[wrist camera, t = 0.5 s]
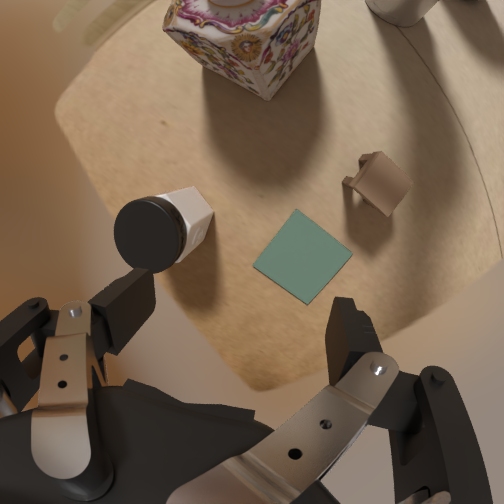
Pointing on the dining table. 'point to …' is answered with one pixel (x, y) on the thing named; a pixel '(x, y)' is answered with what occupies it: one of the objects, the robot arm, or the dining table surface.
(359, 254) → the dining table surface
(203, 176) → the dining table surface
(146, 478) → the robot arm
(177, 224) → the jar
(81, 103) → the dining table surface
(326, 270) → the mat
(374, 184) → the pronged tan cube
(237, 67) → the decorative jar
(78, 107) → the dining table surface
